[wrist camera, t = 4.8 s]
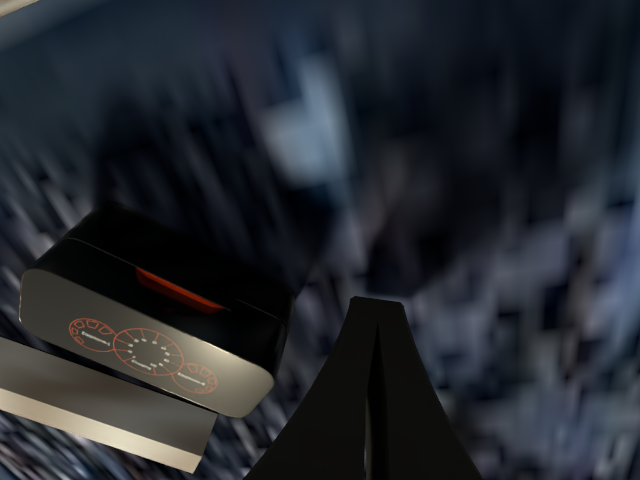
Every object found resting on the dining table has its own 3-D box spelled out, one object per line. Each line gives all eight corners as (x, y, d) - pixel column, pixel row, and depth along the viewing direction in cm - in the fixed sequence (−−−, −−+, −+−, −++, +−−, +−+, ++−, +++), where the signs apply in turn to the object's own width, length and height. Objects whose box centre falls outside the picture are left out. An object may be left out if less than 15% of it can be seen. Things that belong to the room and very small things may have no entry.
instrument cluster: (78, 172, 11) (-16, 242, 9) (305, 285, 13) (283, 376, 10) (61, 276, 14) (-15, 353, 11) (249, 360, 15) (220, 447, 13)
